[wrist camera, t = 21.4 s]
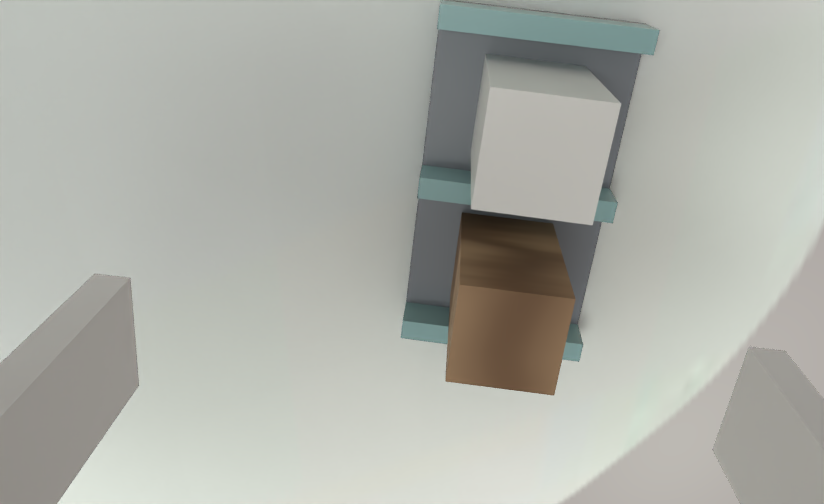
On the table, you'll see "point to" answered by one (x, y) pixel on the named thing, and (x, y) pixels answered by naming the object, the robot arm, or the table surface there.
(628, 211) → the table surface
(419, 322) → the teal-ribbed grey panel
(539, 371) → the walnut plug
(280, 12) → the table surface
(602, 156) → the white rectangular block
